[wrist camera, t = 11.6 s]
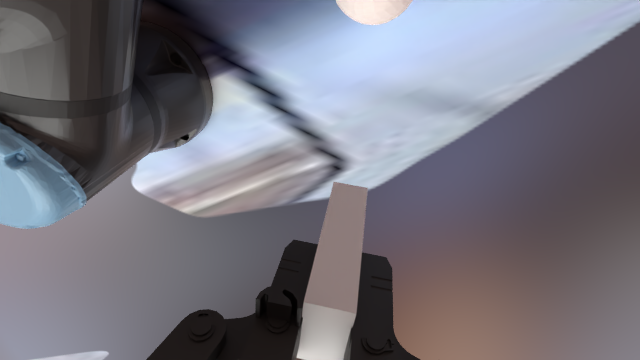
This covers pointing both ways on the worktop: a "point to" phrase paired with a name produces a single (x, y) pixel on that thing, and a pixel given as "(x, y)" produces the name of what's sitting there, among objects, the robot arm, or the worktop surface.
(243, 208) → the worktop surface
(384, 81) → the worktop surface
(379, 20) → the egg
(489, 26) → the worktop surface
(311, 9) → the worktop surface
